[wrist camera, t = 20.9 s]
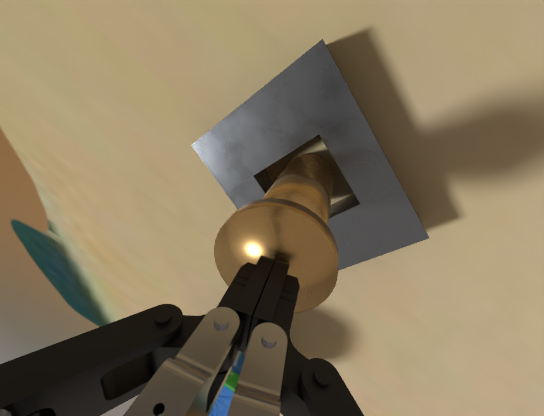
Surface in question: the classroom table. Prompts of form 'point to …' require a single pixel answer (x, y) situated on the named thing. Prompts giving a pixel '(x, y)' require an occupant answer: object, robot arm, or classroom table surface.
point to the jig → (338, 139)
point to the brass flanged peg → (287, 231)
